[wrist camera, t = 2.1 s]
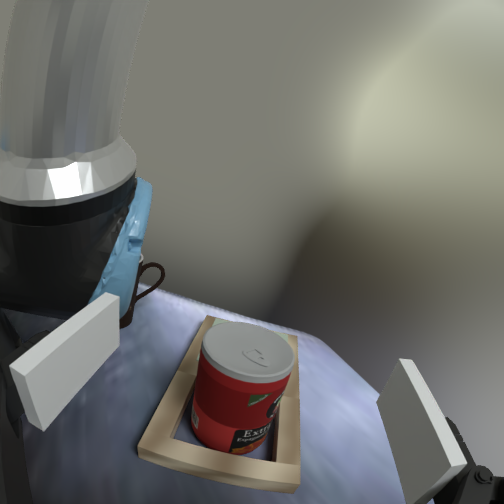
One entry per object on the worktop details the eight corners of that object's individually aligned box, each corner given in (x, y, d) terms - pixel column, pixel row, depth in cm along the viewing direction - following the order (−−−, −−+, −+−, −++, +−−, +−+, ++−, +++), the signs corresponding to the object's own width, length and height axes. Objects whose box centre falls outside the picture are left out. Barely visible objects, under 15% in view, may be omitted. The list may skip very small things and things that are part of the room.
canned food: (239, 470, 22) (268, 391, 19) (173, 426, 26) (181, 340, 23) (278, 426, 28) (310, 347, 25) (218, 392, 32) (236, 312, 29)
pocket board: (138, 457, 21) (137, 445, 20) (205, 326, 46) (207, 313, 45) (293, 493, 20) (300, 483, 19) (293, 346, 45) (297, 335, 44)
